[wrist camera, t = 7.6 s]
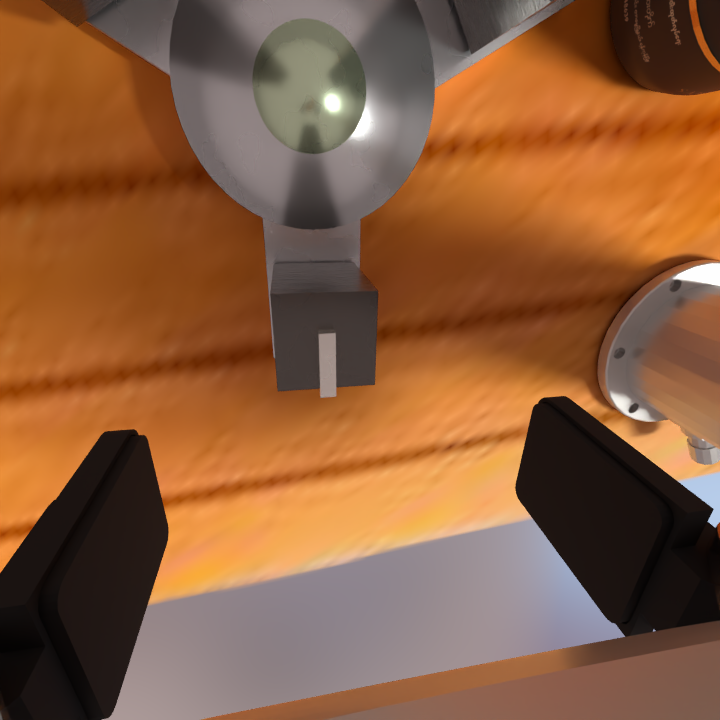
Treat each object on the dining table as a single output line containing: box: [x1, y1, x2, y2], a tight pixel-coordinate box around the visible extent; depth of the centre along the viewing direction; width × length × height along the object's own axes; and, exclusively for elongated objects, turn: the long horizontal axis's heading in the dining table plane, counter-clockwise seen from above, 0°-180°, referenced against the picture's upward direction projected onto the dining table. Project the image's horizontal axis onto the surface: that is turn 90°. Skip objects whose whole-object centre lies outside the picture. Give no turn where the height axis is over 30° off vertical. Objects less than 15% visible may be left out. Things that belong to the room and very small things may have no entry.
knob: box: [270, 262, 378, 398], centre depth 20 cm, size 5×4×7 cm
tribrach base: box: [85, 0, 575, 358], centre depth 19 cm, size 26×22×3 cm
